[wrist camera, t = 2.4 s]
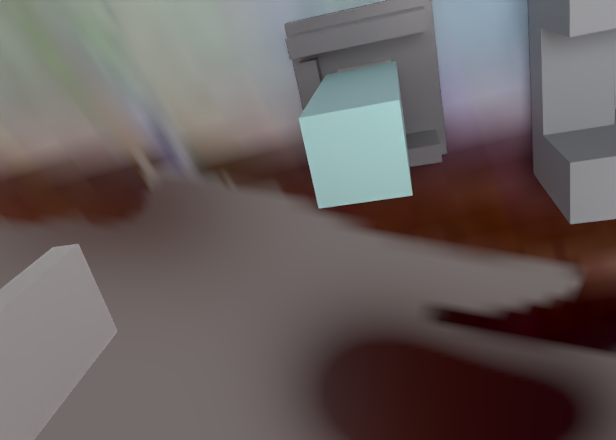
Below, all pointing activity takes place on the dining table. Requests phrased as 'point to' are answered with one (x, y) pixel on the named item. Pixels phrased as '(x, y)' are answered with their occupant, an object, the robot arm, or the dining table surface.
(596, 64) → the port
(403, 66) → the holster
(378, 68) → the plug
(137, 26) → the dining table surface
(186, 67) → the dining table surface
